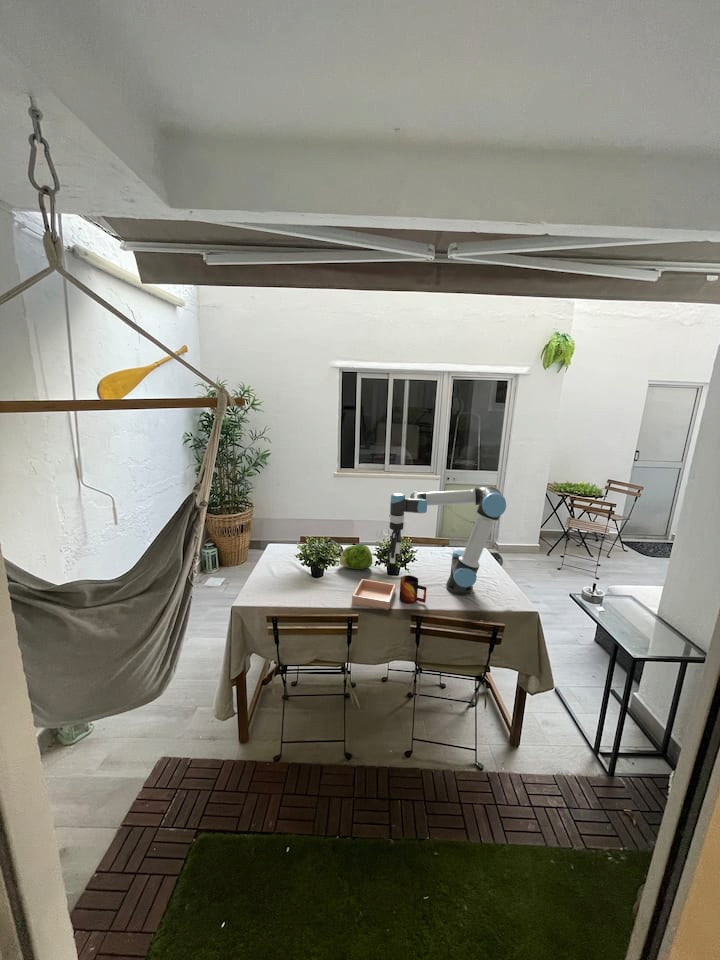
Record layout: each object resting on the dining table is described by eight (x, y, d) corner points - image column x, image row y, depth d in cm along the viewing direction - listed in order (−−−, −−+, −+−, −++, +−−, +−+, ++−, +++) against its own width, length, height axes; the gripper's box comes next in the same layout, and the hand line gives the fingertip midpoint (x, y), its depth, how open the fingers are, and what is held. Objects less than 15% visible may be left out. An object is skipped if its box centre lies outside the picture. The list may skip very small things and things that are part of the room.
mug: (425, 604, 219) (427, 584, 217) (399, 603, 220) (401, 583, 217) (423, 595, 229) (425, 576, 226) (398, 594, 229) (400, 574, 226)
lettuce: (342, 564, 269) (335, 546, 264) (372, 556, 269) (366, 536, 263) (343, 579, 255) (336, 559, 249) (375, 570, 254) (369, 550, 248)
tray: (395, 592, 231) (395, 584, 230) (388, 610, 213) (389, 602, 211) (361, 586, 236) (361, 578, 235) (351, 603, 217) (352, 595, 216)
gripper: (394, 514, 233) (392, 548, 238) (384, 528, 210) (383, 566, 215) (407, 515, 231) (405, 550, 236) (399, 530, 208) (397, 568, 213)
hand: (394, 558), depth 226 cm, fingers open, 13 cm apart
